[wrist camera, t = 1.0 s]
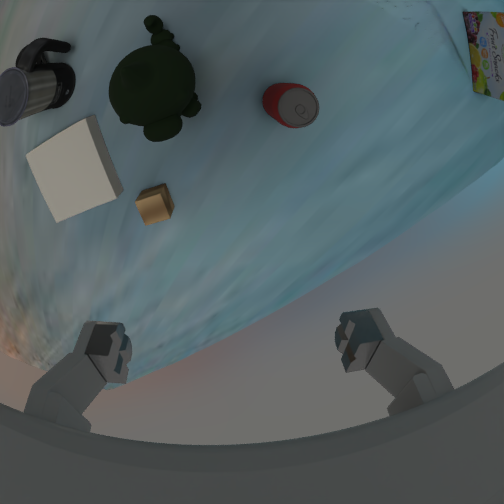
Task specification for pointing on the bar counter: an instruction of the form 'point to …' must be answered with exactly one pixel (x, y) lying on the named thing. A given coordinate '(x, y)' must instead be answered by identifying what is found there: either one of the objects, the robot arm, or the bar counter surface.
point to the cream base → (75, 170)
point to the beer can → (291, 104)
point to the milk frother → (35, 82)
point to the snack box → (486, 51)
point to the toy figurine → (155, 86)
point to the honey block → (155, 204)
